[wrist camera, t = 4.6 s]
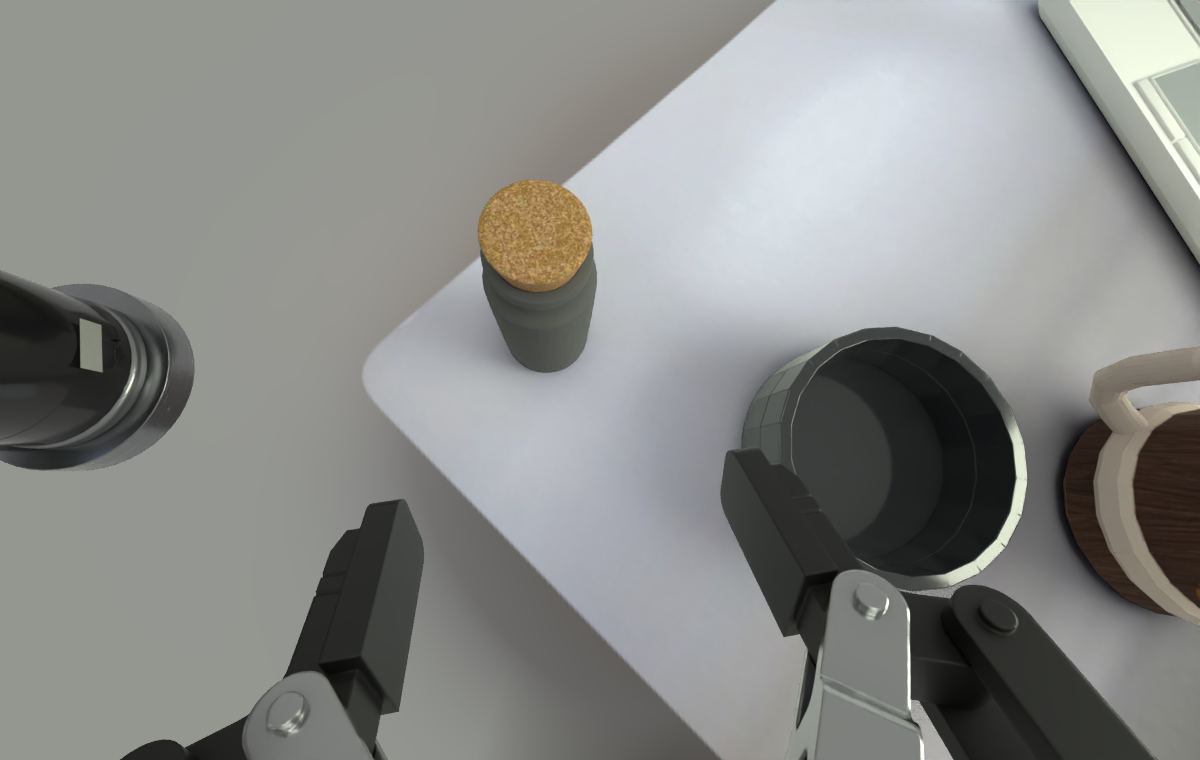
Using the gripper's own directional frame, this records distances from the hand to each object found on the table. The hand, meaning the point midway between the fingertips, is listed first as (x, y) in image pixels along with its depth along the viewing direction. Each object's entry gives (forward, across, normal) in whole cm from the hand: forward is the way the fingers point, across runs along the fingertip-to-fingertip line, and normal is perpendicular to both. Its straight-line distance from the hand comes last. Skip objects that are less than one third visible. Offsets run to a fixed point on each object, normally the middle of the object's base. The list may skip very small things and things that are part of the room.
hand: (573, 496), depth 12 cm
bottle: (+22, 0, +7) cm, 23 cm away
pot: (+14, -20, +16) cm, 29 cm away
